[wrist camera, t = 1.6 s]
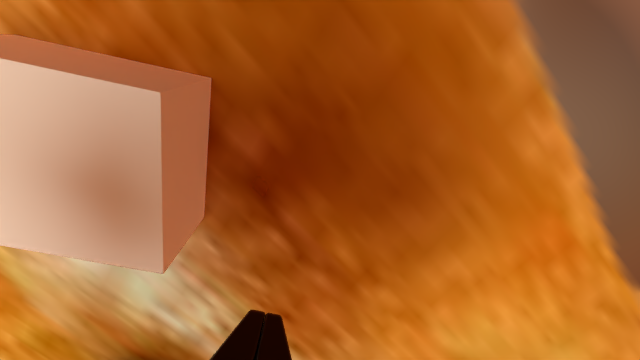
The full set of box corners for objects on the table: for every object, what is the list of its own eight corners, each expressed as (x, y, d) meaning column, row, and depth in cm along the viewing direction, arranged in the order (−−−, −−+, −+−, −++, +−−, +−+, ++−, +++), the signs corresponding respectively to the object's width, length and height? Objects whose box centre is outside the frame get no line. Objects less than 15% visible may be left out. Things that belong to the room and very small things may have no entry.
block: (205, 215, 18) (163, 274, 13) (49, 185, 17) (-51, 236, 13) (213, 77, 14) (160, 92, 10) (20, 35, 14) (-131, 30, 9)
